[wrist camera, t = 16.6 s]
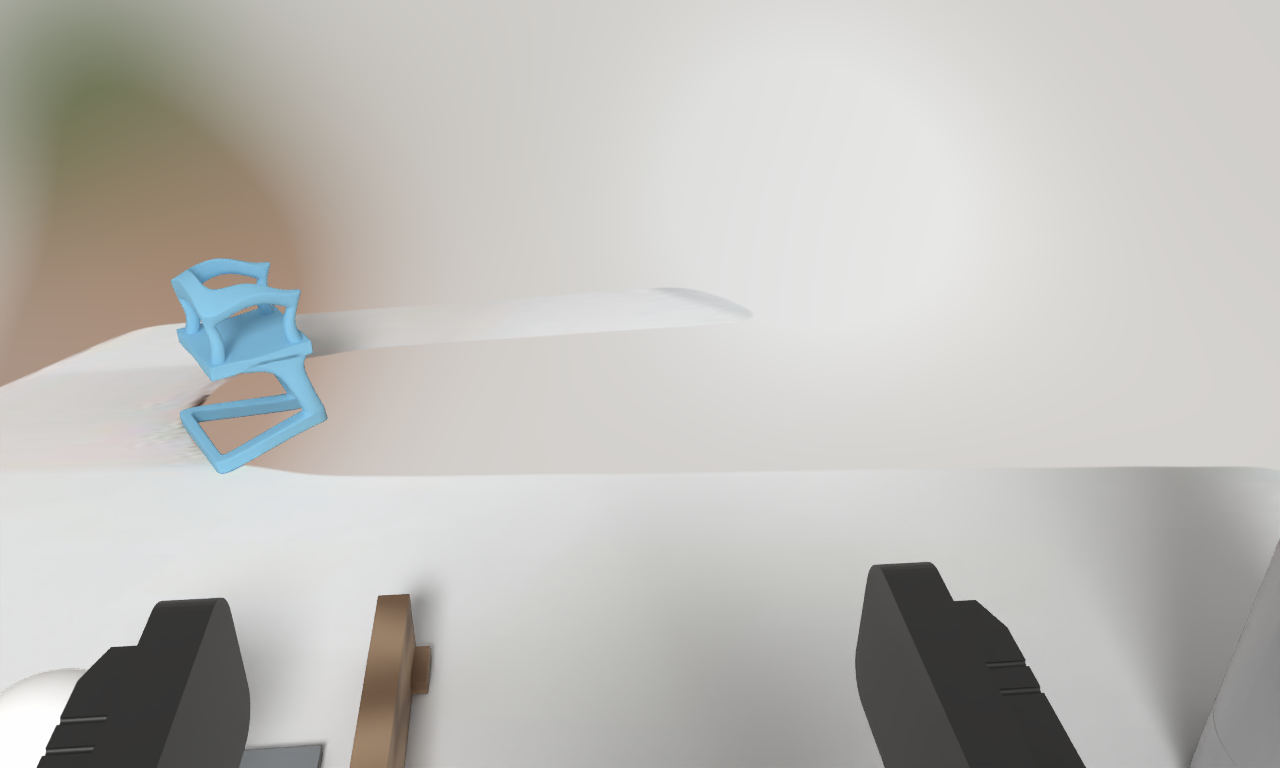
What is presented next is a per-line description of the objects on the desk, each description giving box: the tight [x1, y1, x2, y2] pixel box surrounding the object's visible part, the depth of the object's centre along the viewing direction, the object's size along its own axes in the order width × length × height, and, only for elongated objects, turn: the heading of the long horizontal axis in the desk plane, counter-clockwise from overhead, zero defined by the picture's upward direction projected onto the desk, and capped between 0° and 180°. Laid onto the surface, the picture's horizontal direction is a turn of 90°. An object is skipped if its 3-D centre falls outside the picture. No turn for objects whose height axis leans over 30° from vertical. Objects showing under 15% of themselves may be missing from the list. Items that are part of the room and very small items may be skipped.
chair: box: [171, 258, 327, 474], centre depth 70 cm, size 8×8×12 cm
